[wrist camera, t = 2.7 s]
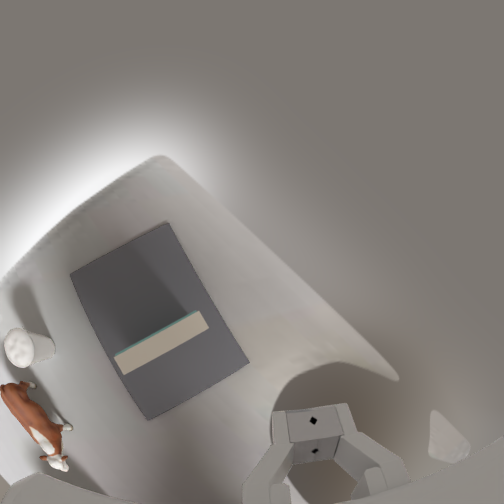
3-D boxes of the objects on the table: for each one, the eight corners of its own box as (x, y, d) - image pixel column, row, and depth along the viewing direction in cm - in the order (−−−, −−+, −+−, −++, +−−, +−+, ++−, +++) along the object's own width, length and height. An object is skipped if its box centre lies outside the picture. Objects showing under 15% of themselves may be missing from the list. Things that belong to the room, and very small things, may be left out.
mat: (248, 362, 37) (249, 362, 37) (148, 419, 31) (147, 420, 31) (168, 224, 40) (168, 222, 39) (71, 275, 34) (69, 274, 33)
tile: (199, 330, 36) (209, 328, 25) (140, 363, 33) (123, 375, 22) (191, 317, 36) (197, 308, 25) (132, 349, 33) (112, 355, 22)
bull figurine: (74, 459, 26) (56, 482, 19) (15, 385, 27) (-14, 392, 19) (92, 446, 28) (75, 468, 20) (31, 370, 28) (3, 375, 21)
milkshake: (68, 342, 31) (36, 342, 22) (49, 370, 29) (15, 377, 20) (46, 320, 31) (11, 312, 22) (28, 347, 29) (-9, 347, 20)
